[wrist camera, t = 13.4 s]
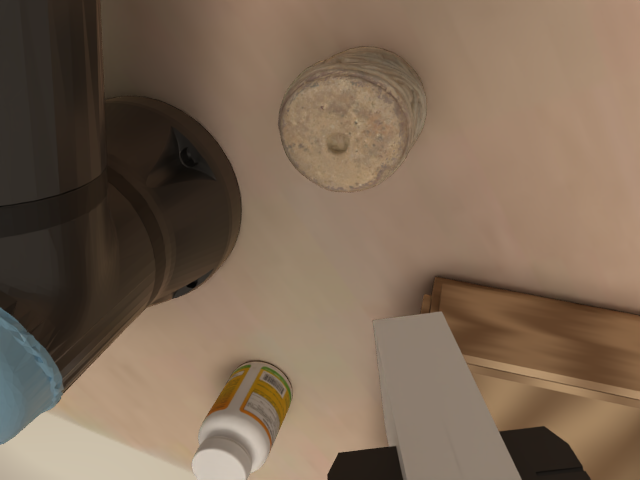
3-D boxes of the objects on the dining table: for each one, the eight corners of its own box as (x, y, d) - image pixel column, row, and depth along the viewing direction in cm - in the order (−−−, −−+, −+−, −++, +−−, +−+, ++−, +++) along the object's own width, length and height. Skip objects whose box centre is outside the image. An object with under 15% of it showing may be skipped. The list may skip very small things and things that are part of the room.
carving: (435, 139, 40) (419, 199, 29) (321, 144, 41) (267, 203, 31) (431, 36, 37) (413, 60, 26) (311, 46, 39) (248, 73, 28)
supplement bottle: (233, 409, 52) (185, 495, 44) (229, 355, 50) (177, 435, 41) (294, 418, 51) (257, 508, 42) (292, 363, 49) (253, 447, 40)
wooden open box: (394, 448, 50) (376, 551, 41) (428, 267, 43) (416, 344, 34) (642, 508, 47) (681, 634, 38) (722, 323, 40) (794, 423, 31)
